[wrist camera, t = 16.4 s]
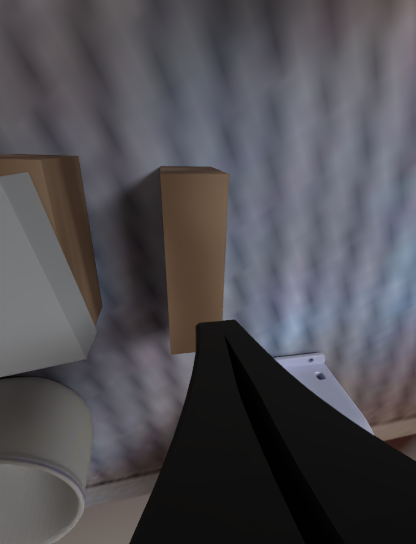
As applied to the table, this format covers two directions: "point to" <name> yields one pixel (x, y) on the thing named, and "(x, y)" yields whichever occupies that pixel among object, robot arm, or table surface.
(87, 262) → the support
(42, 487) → the teacup
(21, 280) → the slab
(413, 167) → the table surface
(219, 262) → the block
